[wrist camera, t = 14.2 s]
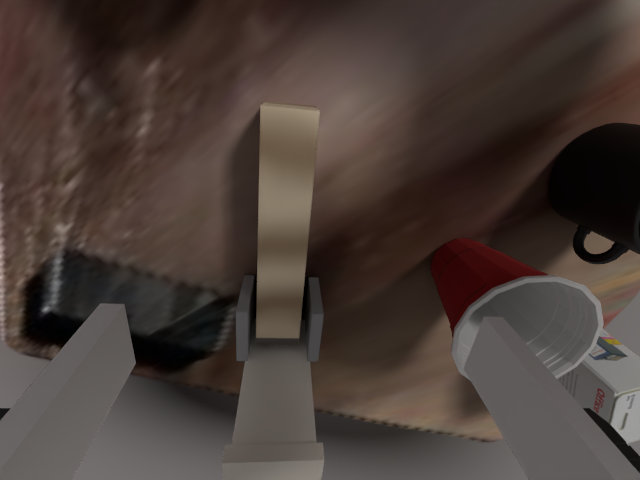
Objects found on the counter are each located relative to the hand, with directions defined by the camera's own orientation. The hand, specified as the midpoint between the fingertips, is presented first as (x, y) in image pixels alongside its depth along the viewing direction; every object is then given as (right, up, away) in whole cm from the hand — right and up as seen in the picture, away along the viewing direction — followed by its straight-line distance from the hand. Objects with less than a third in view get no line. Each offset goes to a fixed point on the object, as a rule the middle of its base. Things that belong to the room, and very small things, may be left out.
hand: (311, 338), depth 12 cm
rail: (-3, +6, +18) cm, 20 cm away
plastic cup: (+14, +1, +22) cm, 27 cm away
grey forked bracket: (-4, -5, +24) cm, 25 cm away
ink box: (+28, -7, +28) cm, 40 cm away
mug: (+26, +9, +20) cm, 34 cm away
